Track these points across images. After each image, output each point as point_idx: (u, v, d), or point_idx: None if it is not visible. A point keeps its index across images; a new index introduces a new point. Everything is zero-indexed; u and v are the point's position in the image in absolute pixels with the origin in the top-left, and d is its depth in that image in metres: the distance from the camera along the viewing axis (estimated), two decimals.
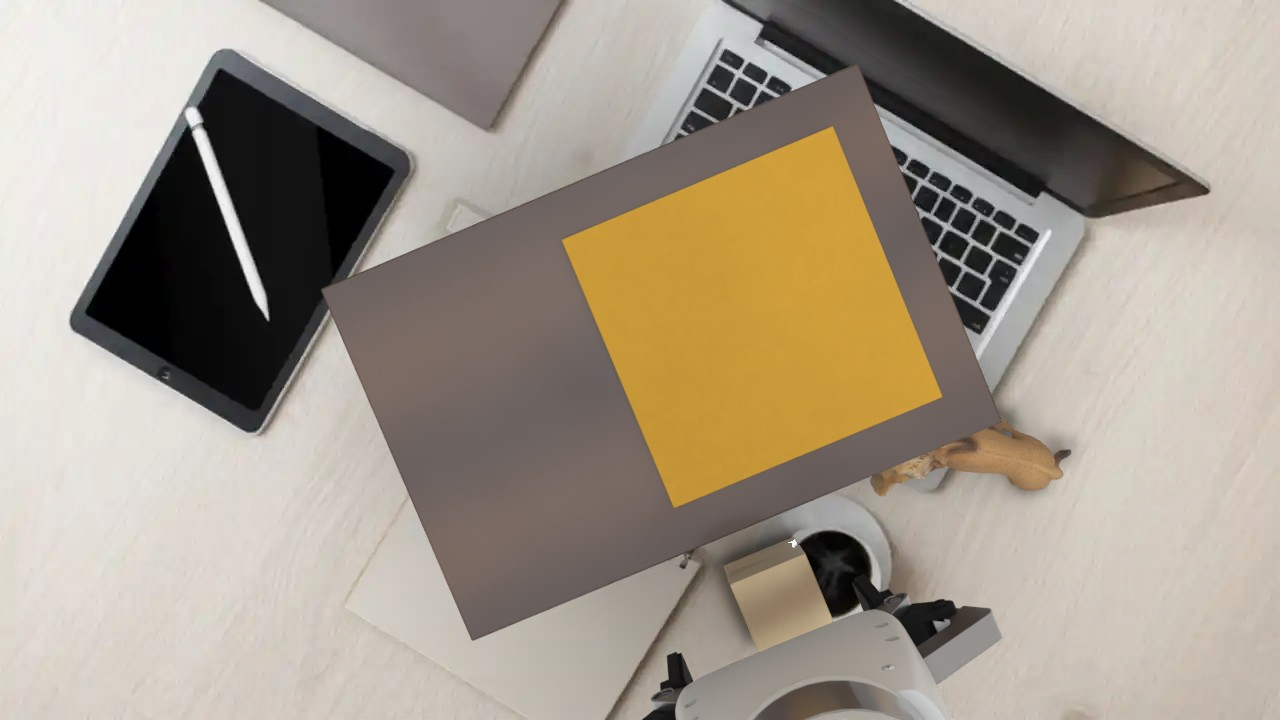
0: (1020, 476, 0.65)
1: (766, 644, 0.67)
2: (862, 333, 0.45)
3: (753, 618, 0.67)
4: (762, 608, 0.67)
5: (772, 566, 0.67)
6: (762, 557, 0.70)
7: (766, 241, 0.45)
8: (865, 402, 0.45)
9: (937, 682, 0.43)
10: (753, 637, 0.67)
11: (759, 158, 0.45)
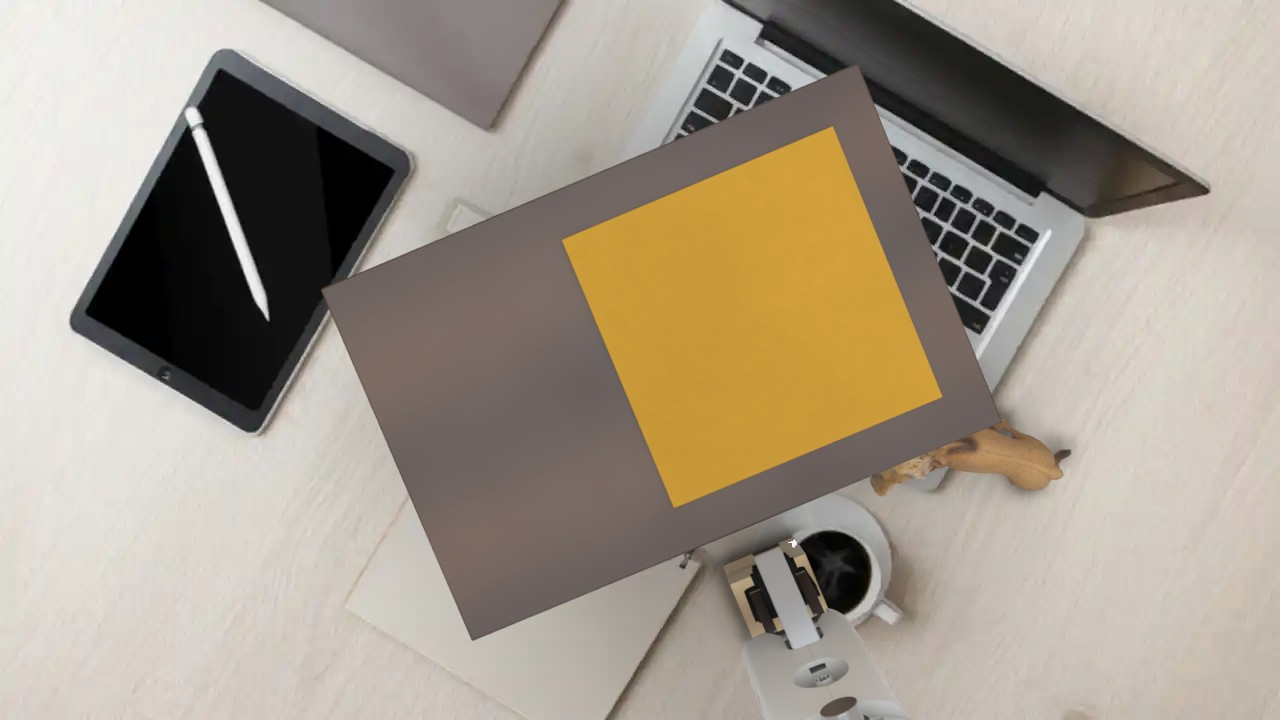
0: (1020, 476, 0.65)
1: None
2: (862, 333, 0.45)
3: (753, 618, 0.67)
4: None
5: None
6: None
7: (766, 241, 0.45)
8: (865, 402, 0.45)
9: None
10: (753, 637, 0.67)
11: (759, 158, 0.45)
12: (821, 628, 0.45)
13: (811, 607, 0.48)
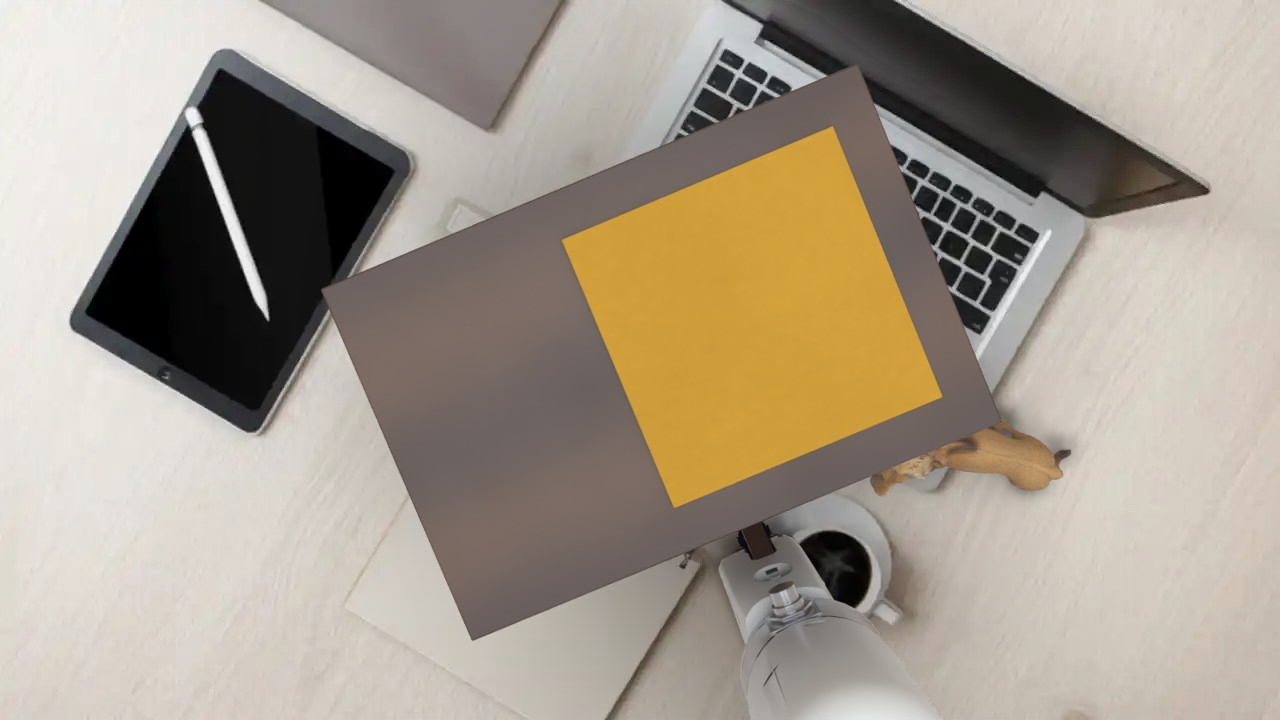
0: (1020, 476, 0.65)
1: None
2: (862, 333, 0.45)
3: None
4: None
5: None
6: None
7: (766, 241, 0.45)
8: (865, 402, 0.45)
9: None
10: None
11: (759, 158, 0.45)
12: (776, 546, 0.61)
13: (777, 551, 0.65)
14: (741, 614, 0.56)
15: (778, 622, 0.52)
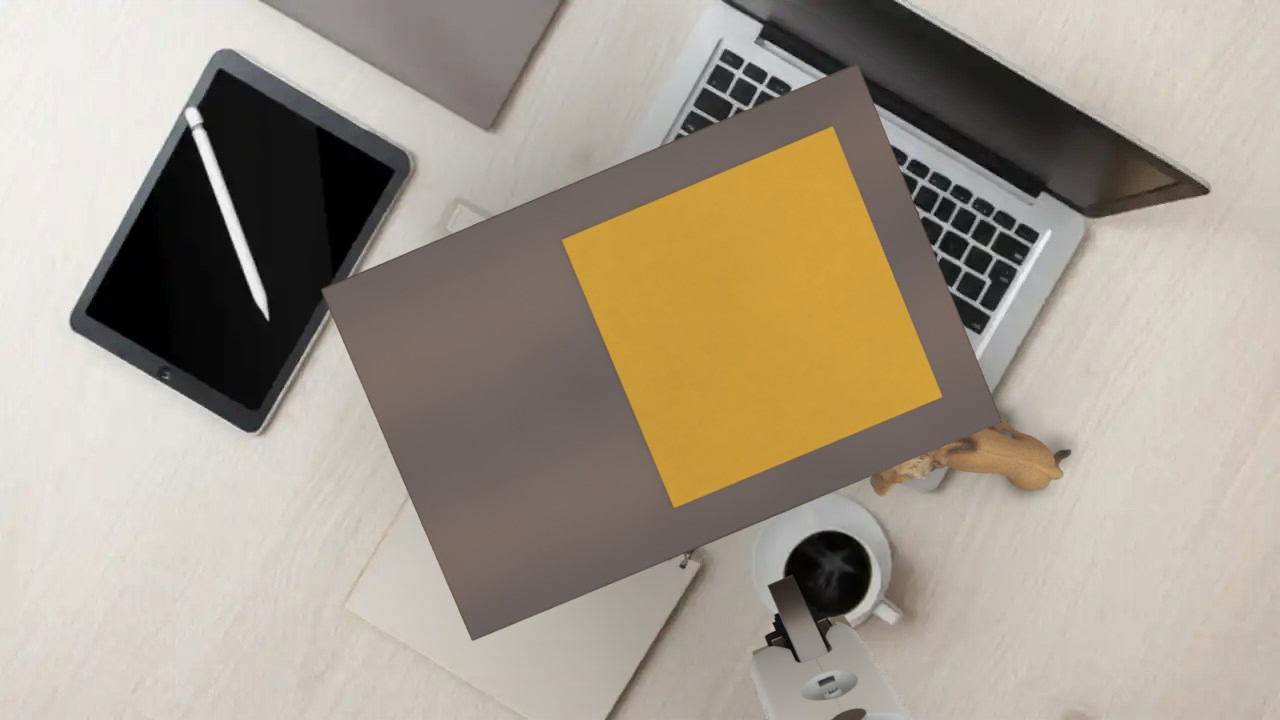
0: (1020, 476, 0.65)
1: None
2: (862, 333, 0.45)
3: None
4: None
5: None
6: None
7: (766, 241, 0.45)
8: (865, 402, 0.45)
9: None
10: None
11: (759, 158, 0.45)
12: (829, 641, 0.44)
13: (827, 642, 0.49)
14: None
15: None
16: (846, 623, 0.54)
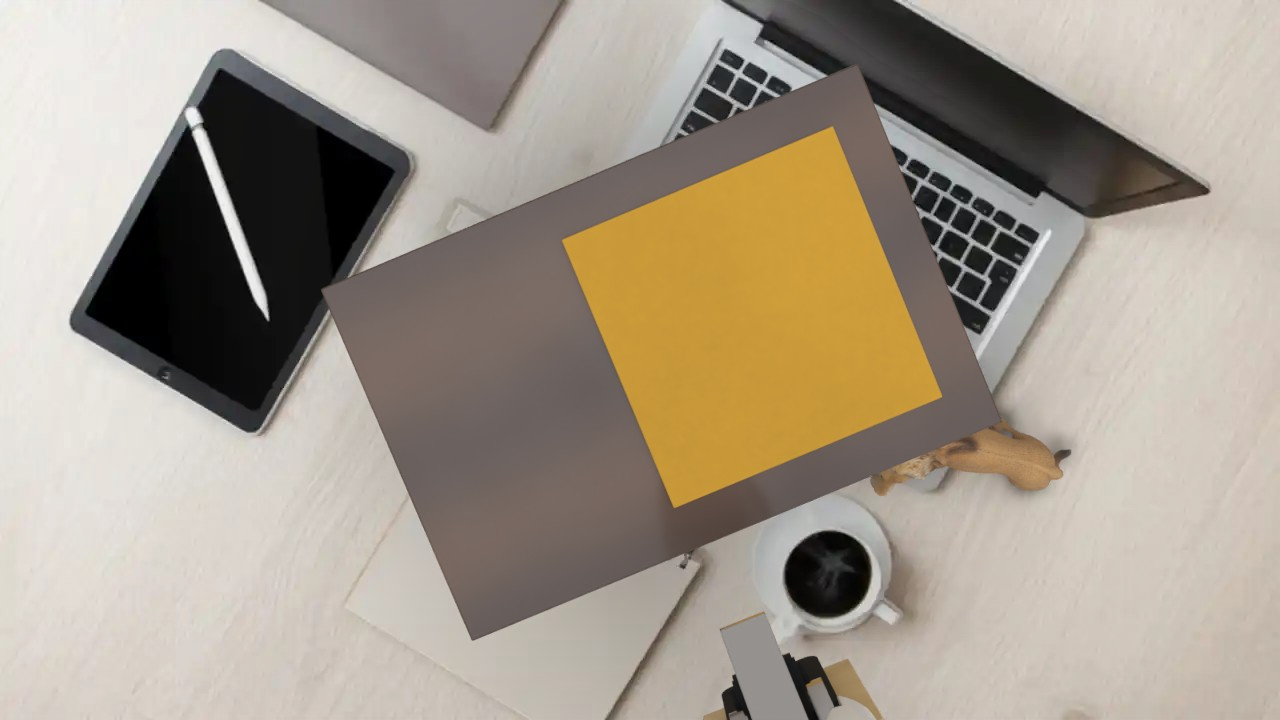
0: (1020, 476, 0.65)
1: None
2: (862, 333, 0.45)
3: None
4: None
5: None
6: None
7: (766, 241, 0.45)
8: (865, 402, 0.45)
9: None
10: None
11: (759, 158, 0.45)
12: None
13: None
14: None
15: None
16: (854, 677, 0.33)
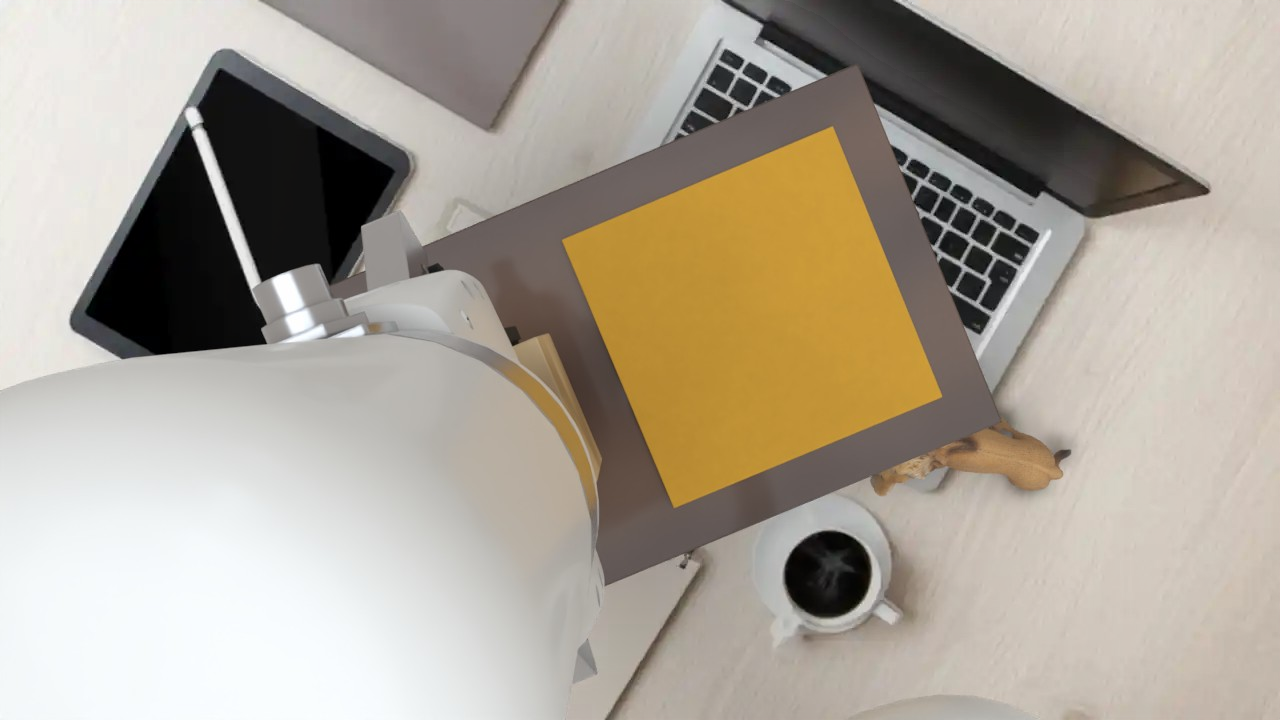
0: (1020, 476, 0.65)
1: None
2: (862, 333, 0.45)
3: None
4: None
5: None
6: None
7: (766, 241, 0.45)
8: (865, 402, 0.45)
9: None
10: None
11: (759, 158, 0.45)
12: None
13: None
14: None
15: None
16: None
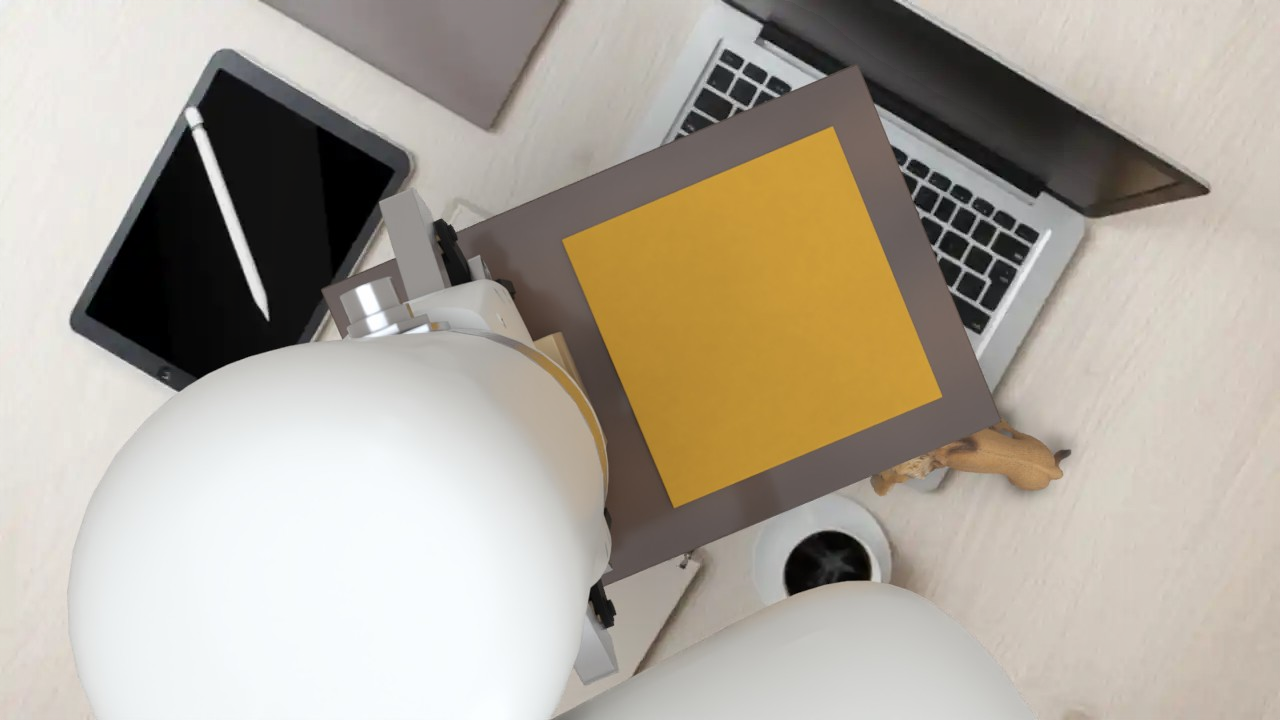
0: (1020, 476, 0.65)
1: None
2: (862, 333, 0.45)
3: None
4: None
5: None
6: None
7: (766, 241, 0.45)
8: (865, 402, 0.45)
9: None
10: None
11: (759, 158, 0.45)
12: None
13: None
14: None
15: None
16: None
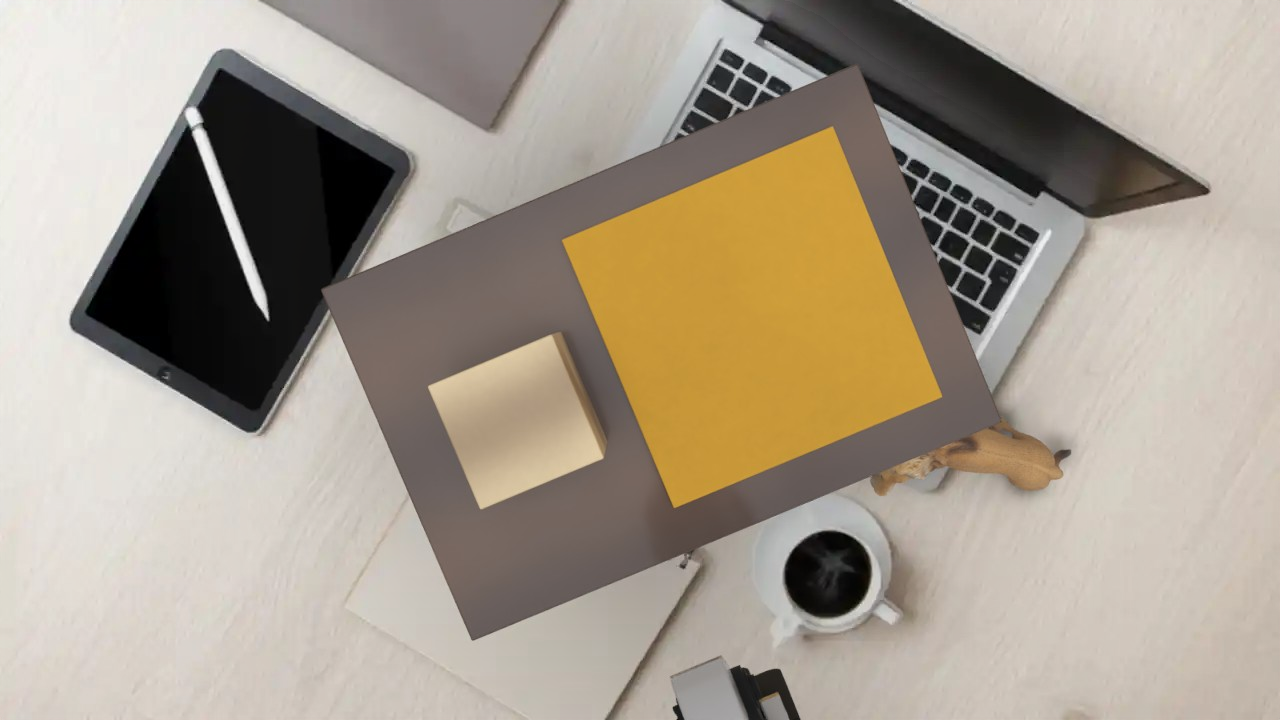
0: (1020, 476, 0.65)
1: (489, 486, 0.41)
2: (862, 333, 0.45)
3: (467, 442, 0.41)
4: (482, 426, 0.41)
5: (498, 356, 0.41)
6: None
7: (766, 241, 0.45)
8: (865, 402, 0.45)
9: None
10: (467, 474, 0.41)
11: (759, 158, 0.45)
12: None
13: None
14: None
15: None
16: None
